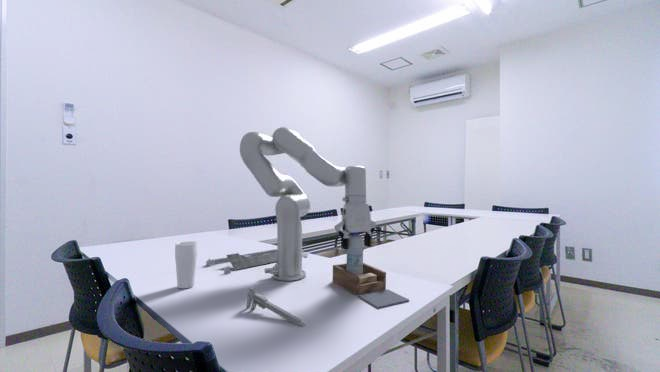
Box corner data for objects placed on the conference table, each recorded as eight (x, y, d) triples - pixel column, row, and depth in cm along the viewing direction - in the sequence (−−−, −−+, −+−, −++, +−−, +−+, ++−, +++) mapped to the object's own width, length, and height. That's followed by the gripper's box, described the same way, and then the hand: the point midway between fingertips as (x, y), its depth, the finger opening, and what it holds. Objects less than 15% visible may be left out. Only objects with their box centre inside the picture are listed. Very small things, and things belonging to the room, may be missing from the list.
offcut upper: (359, 286, 98) (359, 278, 98) (353, 283, 101) (353, 276, 101) (376, 282, 102) (376, 275, 102) (370, 279, 105) (370, 272, 105)
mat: (377, 308, 85) (377, 306, 85) (358, 296, 94) (358, 295, 94) (409, 301, 91) (409, 299, 91) (388, 290, 100) (388, 289, 100)
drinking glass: (200, 284, 105) (201, 242, 104) (185, 291, 98) (186, 245, 98) (185, 282, 107) (186, 240, 107) (170, 288, 100) (170, 244, 100)
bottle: (362, 287, 103) (363, 229, 103) (343, 285, 105) (344, 229, 105) (364, 281, 110) (365, 227, 110) (346, 279, 111) (347, 226, 111)
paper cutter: (206, 266, 129) (206, 253, 129) (289, 251, 160) (290, 240, 160) (223, 275, 116) (224, 261, 116) (311, 257, 147) (311, 246, 147)
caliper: (246, 309, 85) (246, 287, 85) (249, 307, 86) (249, 286, 86) (302, 328, 74) (303, 303, 74) (305, 326, 75) (305, 301, 75)
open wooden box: (356, 295, 95) (356, 277, 95) (332, 281, 109) (332, 265, 109) (385, 289, 101) (385, 272, 101) (359, 276, 115) (359, 261, 115)
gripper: (340, 201, 100) (340, 252, 100) (381, 199, 108) (382, 246, 108) (329, 200, 106) (330, 248, 106) (369, 199, 114) (369, 243, 114)
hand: (356, 247), depth 107 cm, fingers open, 9 cm apart
